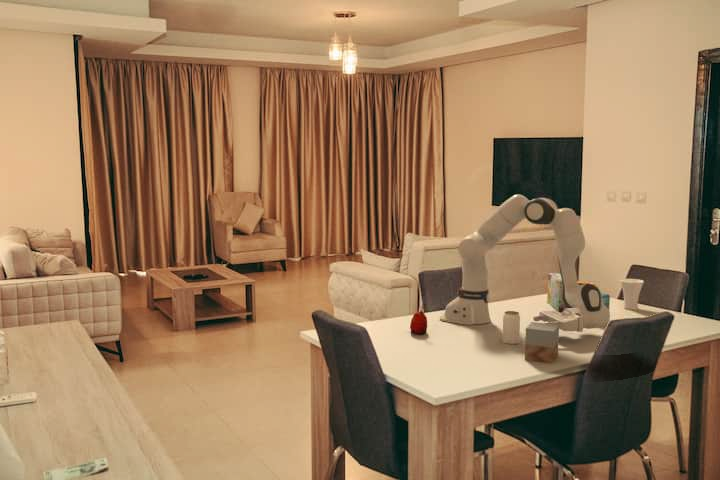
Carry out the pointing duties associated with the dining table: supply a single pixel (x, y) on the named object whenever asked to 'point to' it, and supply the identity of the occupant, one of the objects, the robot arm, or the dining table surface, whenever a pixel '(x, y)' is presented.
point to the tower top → (542, 334)
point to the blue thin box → (605, 299)
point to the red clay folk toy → (419, 322)
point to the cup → (631, 292)
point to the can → (511, 327)
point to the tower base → (541, 353)
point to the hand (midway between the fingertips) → (540, 321)
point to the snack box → (555, 292)
